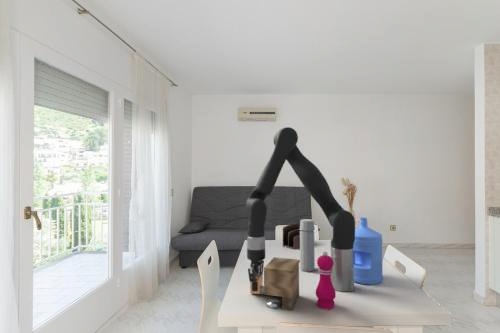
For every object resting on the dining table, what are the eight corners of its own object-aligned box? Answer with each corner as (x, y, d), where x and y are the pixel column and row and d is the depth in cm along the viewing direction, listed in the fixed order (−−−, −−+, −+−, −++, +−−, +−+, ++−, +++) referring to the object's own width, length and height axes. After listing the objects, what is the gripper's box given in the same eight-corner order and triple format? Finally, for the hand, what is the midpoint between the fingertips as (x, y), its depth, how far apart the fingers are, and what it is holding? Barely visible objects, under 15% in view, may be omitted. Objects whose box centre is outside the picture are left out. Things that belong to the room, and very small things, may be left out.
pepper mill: (332, 301, 118) (331, 248, 118) (338, 309, 110) (337, 253, 111) (313, 301, 117) (313, 249, 118) (318, 310, 110) (317, 254, 110)
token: (280, 303, 117) (280, 299, 117) (279, 309, 112) (279, 304, 112) (267, 302, 117) (266, 298, 117) (265, 308, 112) (265, 304, 112)
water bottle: (315, 272, 151) (314, 221, 151) (299, 271, 152) (298, 221, 153) (315, 266, 160) (314, 218, 160) (299, 266, 161) (299, 218, 162)
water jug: (365, 271, 151) (365, 214, 152) (390, 282, 137) (390, 219, 137) (339, 275, 146) (338, 216, 146) (362, 287, 131) (362, 221, 132)
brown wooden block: (300, 295, 123) (299, 259, 124) (292, 311, 110) (292, 270, 110) (274, 292, 127) (273, 257, 127) (263, 306, 113) (263, 267, 113)
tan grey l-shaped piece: (285, 293, 124) (285, 276, 124) (283, 297, 120) (283, 279, 120) (253, 289, 129) (253, 272, 129) (250, 293, 125) (250, 275, 125)
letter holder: (282, 247, 202) (282, 225, 203) (301, 242, 216) (301, 222, 216) (294, 249, 195) (293, 227, 195) (313, 244, 208) (312, 223, 209)
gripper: (259, 252, 118) (260, 296, 118) (269, 243, 132) (270, 283, 131) (241, 250, 121) (241, 294, 121) (253, 242, 134) (253, 282, 134)
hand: (256, 288), depth 126 cm, fingers closed on tan grey l-shaped piece, 4 cm apart
